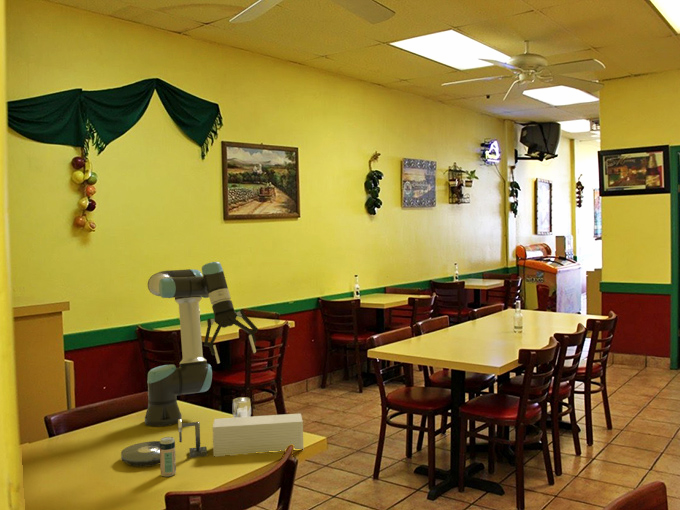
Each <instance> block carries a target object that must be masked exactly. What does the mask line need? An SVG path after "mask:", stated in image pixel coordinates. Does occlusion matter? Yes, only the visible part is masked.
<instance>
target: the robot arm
mask: <svg viewBox="0 0 680 510" xmlns="http://www.w3.org/2000/svg"><path fill="white" fill-rule="evenodd" d="M147 289H148V291H149V292H150V293H151V294H152V295H153V296H157V297H160V298H162V299H174V302H175V303H176V304H177V305H178V313H179V323H180V325H179V326H180V339H181V352H182V354H181V355H182V358H181V360H180V362H179V367H177V366H176V365H175V364H164V365H159V366H156V367H154V368H151V369H150V370H149V371H148V372H147V396H148V397H147V398H148V404H147V408H146V413H145V416H144V424H145V425H146V426H149V427H167V426H172V425H175V424H178V419H182V417H183V416H182V413H181V410H180V408H179V405H178V399H177V396H182V395H191V394H199V393H205V392H207V391H209V389H210V388H211V385H212V379H213V370H212V369H213V368H212V366H211V364H210V363H208V362H207V359H206V358H205V357H204V355H203V353H204V352H203V346H204V347H208V348H209V350H210V354H211V355H212V356H215V359H216V360H215V361H216V364H220V363H221V361H220V356H219V354H218V350H217V347H216V346H217V345H216V344H214V343H215V341H216V339H217V337H218V335H219V333H220V331H221V328H222V329H225V328H228V327H232V326H233V325H235V326H236V327H238V328H239V329H241V330H243V331H244V332H246V333H247V334H248V339H249V342H250V346H251V350H252V353H253V354H255V353H256V352H257V349H256V345H255V344H256V343H257V338H256V336H255V333H257V332H258V331H259V328H258V327H257V326H256V324H254V322H252V321H251V320H250V318H248V316H247V315H246V314H245V310H243V309H241V310H239V311H237V312H236V311H235V307H234V305H233V301H232V300H231V298H232V297H231V294H230V291H229V287H228V283H227V280H226V275H225V272H224V268H223V266H222V264H221V262H219V261H211V262H209V263H205V264H203V265H202V267H201V270H199V269H189V268H188V269H187V268H186V269H174V270H172V269H171V270H169V269H168V270H161V271H159V272H156V273H154V274H153V275H151V276H150V277H149V278H148V281H147ZM202 298H203V299H207V298H209V301H210V305H211V309H212V312H213V315H214V318H207V320H206V326H207V328H206V333H205V336H204V337H205V338H204V342H202V332H201V330H202V329H201V319H200V317H201V316H200V304H199V303H200V301H201V300H202ZM237 316H238V317H239V318H241V319H242V320H243V321H244V322H245V323H246V324H247V325H248V326H247V325H245V324H243V323H242V322H241V321H239V320H238V319H237ZM214 323H216V324H217V327H216V329H215V331H214V333H213V336H212V337H211V339H210V342H209V338H210V332H211V329H212V326H213V325H214ZM249 327H250V328H249ZM182 420H183V419H182Z"/></svg>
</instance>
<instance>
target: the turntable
mask: <svg viewBox="0 0 680 510" xmlns="http://www.w3.org/2000/svg"><path fill="white" fill-rule="evenodd" d="M160 441H161V440H160ZM160 441H159V440H156V441H155V440H154V441H153V440H151V441H144V442H138V443H135V444H132V445H129V446H127V447H125V448H123V449H122V450H121V451H120V459H121V461H122V462H124V463H125V464H128V463H129V464H150V463H155V462H160ZM129 464H128V465H129Z"/></svg>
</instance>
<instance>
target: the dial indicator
mask: <svg viewBox="0 0 680 510" xmlns="http://www.w3.org/2000/svg"><path fill="white" fill-rule="evenodd" d="M182 421H183V419H178V423H177V424H178V426H177V428H178V435H179V443H183V440H182V439H183V436H182V432H183V428H186V427H195V428H194V429H195V430H194V431H195V432H194V433H195V434H194V435H195V447H190V448H188V449H189V458H190V459H192V458H201V456H202V457H208V449H207V446H201V427H200V425H201V423H200V422H201V421H195V422H182Z"/></svg>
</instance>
